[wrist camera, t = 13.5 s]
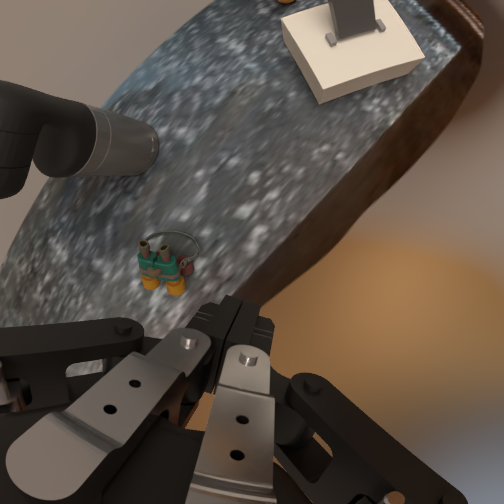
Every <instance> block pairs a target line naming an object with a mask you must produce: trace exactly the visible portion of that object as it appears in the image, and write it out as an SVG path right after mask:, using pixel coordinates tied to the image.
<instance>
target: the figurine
mask: <svg viewBox="0 0 504 504" xmlns="http://www.w3.org/2000/svg"><path fill="white" fill-rule="evenodd" d="M277 1H279V2H282V3H290V2H292V1H294V0H277Z"/></svg>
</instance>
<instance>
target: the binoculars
mask: <svg viewBox="0 0 504 504" xmlns="http://www.w3.org/2000/svg"><path fill="white" fill-rule="evenodd" d="M163 234H176V235H181V236H184V237H187V238H189V239H191V240H192V241H193V242H194V243H195V244H196V246H197V253H196V254H195V255H194V256H191V257H188V256H180V257H178V258H177V259H176V258H175V256H173V255H170V248H169V244H163V245H161V246H160V247H159V251H158V252H153V251H149V250H150V246H149V243H148V240H150V239H151V238H153V237H155V236H158V235H163ZM138 246H139V249H140V253H139V254H138V255H137V257H138V261H139V267H140V270H141V272H142V274H141V278H142V282H143V285H144V287H145V288H146V289H148V290H154V289H156V288H157V287H158V286H159V285H160V282H161V280H163V281H166V285H167V290H168V292H169V294H171V295H173V296H178V295H181V294H182V293H183V292H184V291H185V288H186V284H185V281H184V278H183V277H182V276H187V275H189V274H191V273H192V272H193V270H194V267H193V263H192V260H194V259H195V258H197V257H198V255H199V247H198V244H197V241H196V240H195V239H194V238H193V237H192V236H190V235H188V234H186V233H183V232H179V231H159V232H156V233H153V234H151V235H149V236H148V237H147V238H145V239H140V240H139V241H138Z"/></svg>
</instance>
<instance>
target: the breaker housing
mask: <svg viewBox="0 0 504 504" xmlns="http://www.w3.org/2000/svg"><path fill="white" fill-rule="evenodd" d="M373 1H374V9H375V19H376V26H377V29H376V30H372V31H368V32H364V33H361V34H357V35H354V36H350V37H347V38H344V39H340V40H337V39H336V38H335V35H336V34H335V30H334V25H333V20H332V16H331V12H330V7H329V3H327V4H324V5H320V6H317V7H314V8H310V9H307V10H304V11H301V12H298V13H295V14H292V15H289V16H286V17H283V18H281V23H282V31H283V39H284V43H285V44H286V46H287V48H288V49H289V51H290V53H291V54H292V56H293V58H294V60H295V61H296V63H297V65H298V67H299V68H300V70H301V72H302V74H303V75H304V77H305V79H306V81H307V83H308V85H309V86H310V88H311V90H312V92H313V94H314V96H315V98H316V100H317V102H318V104H319V105H320V104H322V103H325V102H327V101H330V100H332V99H335V98H338V97H341V96H343V95H346V94H349V93H352V92H354V91H357V90H360V89H363V88H366V87H369V86H372V85H375V84H378V83H381V82H384V81H387V80H390V79H393V78H397V77H400V76H403V75H407V74H408V73H409V72H410V71H411V70H412V69H413V68H414V67H416V66H417V65H418V64H419V63H420V62H421V61H422V60H423V59H424V58H425V56H424V55H423V53H422V51H421V50H420V48H419V46H418V45H417V43H416V41H415V40H414V38H413V36H412V35H411V33H410V32H409V30H408V29H407V27H406V26H405V24H404V22H403V21H402V20H401V18H400V17H399V15H398V14H397V12H396V11H395V9H394V8H393V7H392V5H391V4H390V2H389V1H388V0H373Z"/></svg>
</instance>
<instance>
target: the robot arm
mask: <svg viewBox="0 0 504 504" xmlns="http://www.w3.org/2000/svg"><path fill="white" fill-rule="evenodd" d="M158 148H159V142H158V137H157V134H156V132H155V130H154V129H153V128H152V127H151V126H150V125H148V124H147V123H144V122H141V121H138V120H135V119H133V118H130V117H127V116H123V115H120V114H117V113H114V112H111V111H108V110H104V109H101V108H97V107H94V106H90V105H87V104H83V103H79V102H76V101H72V100H67V99H63V98H59V97H55V96H51V95H48V94H45V93H43V92H40V91H37V90H33V89H31V88H28V87H24V86H21V85H18V84H14V83H11V82H7V81H2V80H0V199H4V198H8V197H11V196H13V195H15V194H17V193H18V192H19V191H20V190H21V189H22V188H23V186H24V184H25V181H26V179H27V176H28V172H29V169H30V165H31V161H32V159H33V161H34V164H35V165H36V167H37V168H38V170H39V171H40V172H41V173H43V174H44V175H47V176H49V177H56V178H58V177H81V176H134V175H139V174H142V173H143V172H145V171H147V170H148V169H149V168H150V167H151V166H152V164H153V163H154V161H155V159H156V157H157V154H158ZM242 303H243V304H242ZM260 308H261V304H257V303H254V302H250V301H246V300H244V302H243V299H239V298H235V297H232V296H228V295H225V297H224V298H223V300H222V302H221V303H220V305H218V304H215V303H211V302H210V303H207V304H205V305H202V306H201V307H200V309H199V310H198V312H197V313H196V314H195V315H194V317H193V318H192V319H191V320H190V322H189V323H188V324H187V326H186V327H185V328H178V329H174V330H172V331H171V332H170V333H169V334H168V335H167V336H166V337H164V338H163V339H158V338H151V337H145V336H144V328H143V326H142V325H141V324H140V323H138V322H136V321H134V320H132V319H128V318H122V317H117V318H108V319H98V320H89V321H79V322H69V323H58V324H47V325H35V326H21V327H7V328H0V504H313V503H314V504H468V502H467V500H466V498H465V496H464V495H463V494H462V493H461V492H460V491H459V490H457V489H456V488H455V487H454V486H452V485H451V484H450V483H448V482H447V481H446V480H445V479H443V478H442V477H441V476H440V475H438V474H437V473H436V472H434V471H433V470H432V469H431V468H430V467H428V466H427V465H426V464H425V463H423V462H422V461H421V460H420V459H418V458H417V457H416V456H415V455H413V454H412V453H411V452H410V451H409V450H407V449H406V448H405V447H404V446H403V445H401V444H400V443H399V442H398V441H396V440H395V439H394V438H393V437H392V436H391V435H389V434H388V433H387V432H386V431H385V430H384V429H382V428H381V427H380V426H379V425H378V424H377V423H375V422H374V421H373V420H372V419H370V417H368V416H367V415H366V414H365V413H364V412H363V411H362V410H360V409H359V408H358V407H357V406H356V405H355V404H354V403H352V402H351V401H350V400H349V399H348V398H347V397H346V396H344V395H343V394H342V393H341V392H340V391H339V390H338V389H337V388H336V387H334V386H333V385H332V384H331V383H330V382H329V381H328V380H326V379H325V378H323V377H321V376H319V375H316V374H312V373H299V374H296V375H294V376H293V377H292V378H291V379H289V378H287V377H284V376H282V375H281V374H279V373H277V372H276V371H275V370H274V369H273V368H272V367H271V365H270V358H269V356H270V350H271V345H272V338H273V333H274V328H275V325H274V324H273V322H272V320H271V319H269V318H265V317H261V316H258V315H259V311H260ZM99 359H102V363H103V372H98V373H92V374H86V375H80V376H74V377H66V374H65V372H66V369H67V368H68V367H69V366H70V365H71V364H74V363H80V362H86V361H93V360H99ZM214 386H215V389H214ZM213 389H214V393H213V394H214V395H215V397H214V401H213V404H212V408H211V412H210V416H209V419H208V423H207V426H206V430H205V431H197V430H189V429H185V427H186V426H187V424H188V422H189V421H190V419H191V417H192V416H193V414H194V412H195V411H196V409H197V407H198V405H199V400H200V398H201V397H202V395H203V393H204V392H207V393H212V391H213ZM315 432H316V433H317V434H318V435H319V436H320V437H321V438H322V439H323V440H324V441H325V442H326V443H327V444H328V445H329V447H330V448H331V450H332V454H333V458H332V457H331V456H330V455H329V454H328V452H327V451H325V449H324V448H323V447H322V446H321V445H320V444H319V443H318V442H317V441H316V440H315V439H314V438H313V437H312V436H313V435H314V433H315ZM273 456H275V458H277V460H278V461H279V462H280V464H281V465H282V466H283V468H284V469H285V470H286V471H287V472H288V473H287V472H286V471H285V470H284V469H283V468H281V467H280V466H279V465H278V464H276V463H275V462H273ZM301 489H302V490H303V491H302V490H301ZM304 493H305V494H306V495H307V496H308V497H309V498H310V500H311V501H312V502H313V503H312V502H311V501H310V500H309V498H308V497H307V496H306V495H305V494H304Z"/></svg>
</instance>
